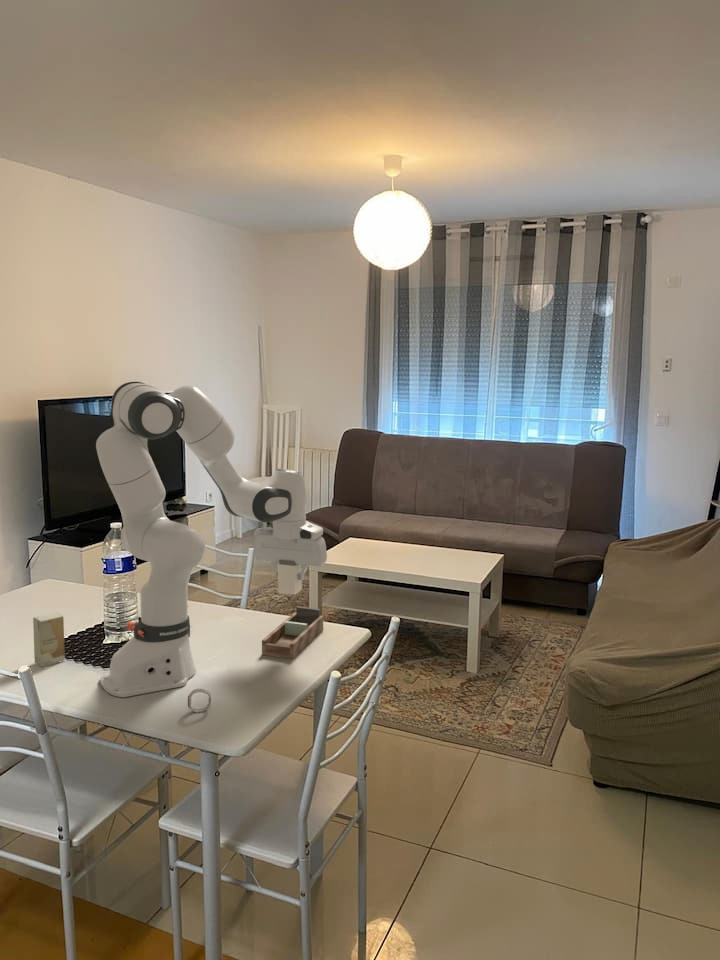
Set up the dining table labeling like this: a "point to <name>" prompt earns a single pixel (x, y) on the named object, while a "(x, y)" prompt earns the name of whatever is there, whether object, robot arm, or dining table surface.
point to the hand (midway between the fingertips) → (289, 578)
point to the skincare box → (48, 639)
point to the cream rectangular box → (289, 577)
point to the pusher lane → (291, 644)
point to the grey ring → (190, 700)
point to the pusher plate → (294, 628)
